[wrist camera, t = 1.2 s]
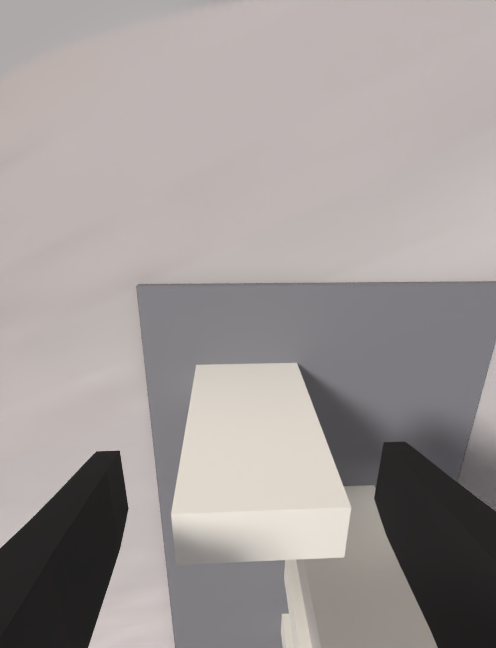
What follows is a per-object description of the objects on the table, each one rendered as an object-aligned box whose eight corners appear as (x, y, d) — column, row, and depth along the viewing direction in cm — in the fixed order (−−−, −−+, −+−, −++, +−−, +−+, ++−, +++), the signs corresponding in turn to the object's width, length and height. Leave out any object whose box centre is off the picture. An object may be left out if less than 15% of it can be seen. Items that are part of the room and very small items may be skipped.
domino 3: (374, 485, 17) (461, 668, 11) (370, 510, 18) (450, 699, 11) (289, 488, 17) (327, 676, 11) (287, 513, 18) (322, 707, 11)
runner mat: (505, 281, 14) (510, 283, 14) (396, 693, 25) (398, 699, 24) (138, 284, 14) (136, 286, 13) (182, 707, 24) (182, 713, 24)
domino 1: (296, 362, 15) (351, 507, 8) (294, 397, 15) (343, 557, 9) (196, 364, 15) (171, 514, 8) (197, 399, 15) (175, 565, 9)
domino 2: (362, 553, 19) (433, 748, 12) (359, 574, 20) (424, 771, 13) (285, 556, 19) (315, 756, 12) (284, 578, 19) (312, 779, 13)
